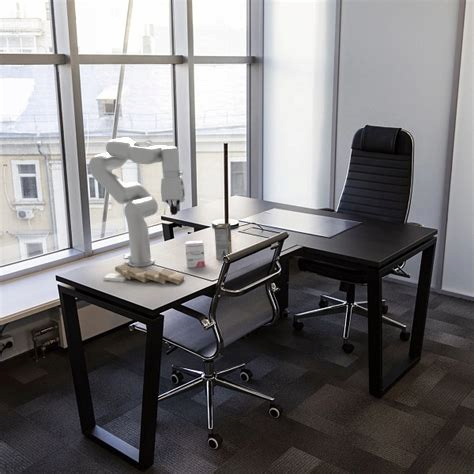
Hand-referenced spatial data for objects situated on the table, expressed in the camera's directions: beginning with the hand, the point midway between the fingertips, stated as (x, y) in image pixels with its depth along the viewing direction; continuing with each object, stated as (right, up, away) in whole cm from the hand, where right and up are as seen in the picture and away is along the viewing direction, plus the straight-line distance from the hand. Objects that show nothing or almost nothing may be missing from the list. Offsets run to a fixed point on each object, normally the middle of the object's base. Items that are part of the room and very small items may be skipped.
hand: (174, 214), depth 271 cm
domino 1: (-18, -28, -2) cm, 33 cm away
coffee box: (+22, -21, +25) cm, 39 cm away
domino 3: (-2, -29, -7) cm, 30 cm away
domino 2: (-11, -29, -6) cm, 32 cm away
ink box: (+9, -24, +13) cm, 29 cm away
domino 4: (+4, -30, -9) cm, 31 cm away
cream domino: (-21, -29, -2) cm, 36 cm away
